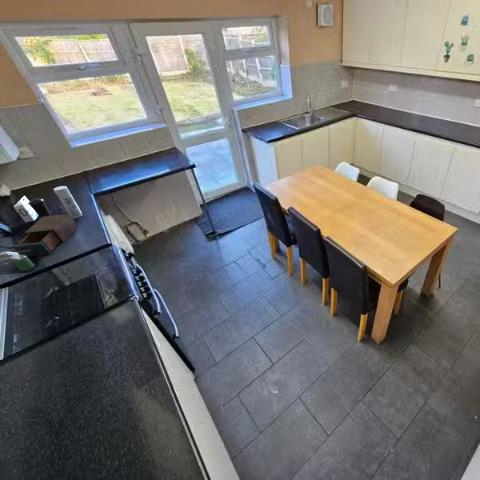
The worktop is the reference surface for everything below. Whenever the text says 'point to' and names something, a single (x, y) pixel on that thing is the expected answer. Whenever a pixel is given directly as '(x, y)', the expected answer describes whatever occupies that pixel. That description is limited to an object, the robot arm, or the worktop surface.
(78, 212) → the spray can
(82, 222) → the worktop surface
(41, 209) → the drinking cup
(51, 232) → the drawer
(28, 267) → the green can
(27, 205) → the ink box
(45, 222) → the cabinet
